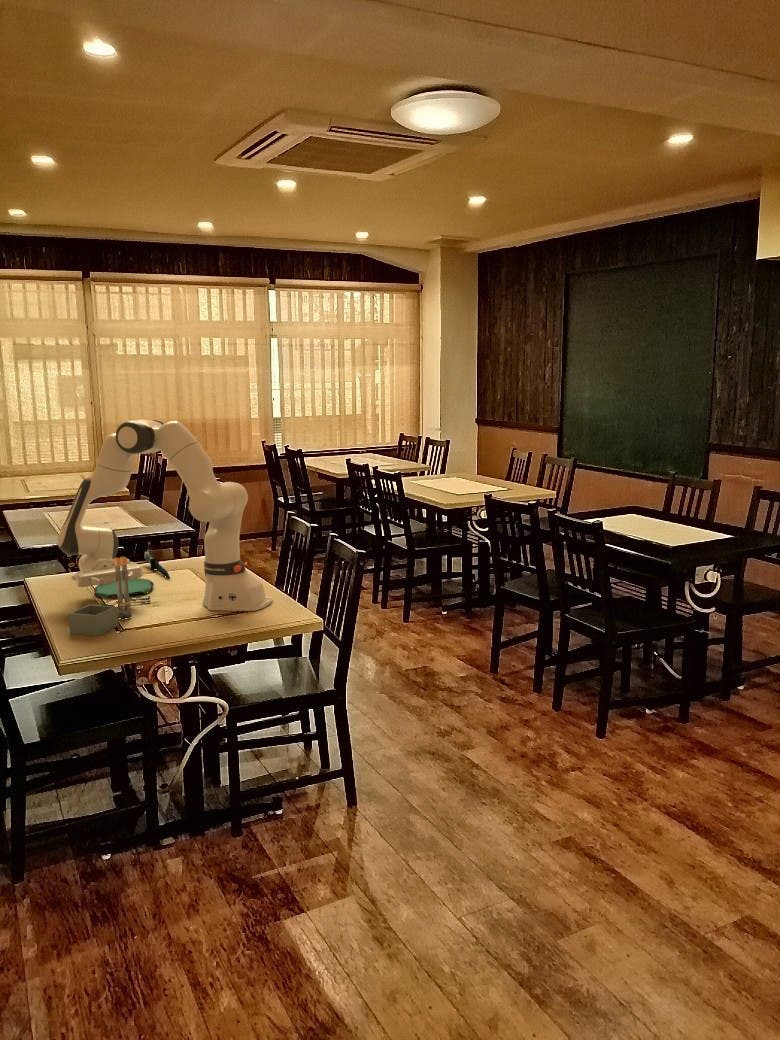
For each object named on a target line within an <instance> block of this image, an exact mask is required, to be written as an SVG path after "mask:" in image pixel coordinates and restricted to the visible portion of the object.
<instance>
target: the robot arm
mask: <svg viewBox="0 0 780 1040" xmlns="http://www.w3.org/2000/svg"><path fill="white" fill-rule="evenodd" d="M159 452H162V453H163V454H164V455H165V457H166V458H167V460H168V462H170V464H171V465H172V467H173V468H174V470H175V471H176V472H177V474H178V476H179V477H180V479H181V480H182V481H183V484H184V486H185V487H186V490H187V493H188V497H189V502H188V509H189V512H190V514H191V516H192V517H193V518H194V519H195V520H196V521H199V522H203V523H208V528H207V531H206V532H205V534H204V539H203V541H204V559H205V560H204V562H203V565H204V566H203V568H204V577H205V589H204V595H203V600H202V605H203V606H204V607H206V608H207V610H209V611H224V612H225V611H230V612H232V611H234V612H238V611H239V612H254V611H259V610H261V609H264V608H266V607H268V606H269V605H270V604H272V603H273V598H272V596H268V595H266V593H265V587H264V585H263V583H262V581H260V580H259V579H257V578H256V577H254V576H253V575H252V574H251V573H250V572H248V571H247V568H246V566H247V565H248V561H245V562H243V560H242V559H241V552H240V550H241V549H240V535H241V534H240V532H241V526H242V520H243V515H244V511H245V507H246V505H247V504H248V501H249V495H248V492H247V489H246V488H245V486H243V485H242V484H240V483H238V482H233V481H225V482H221V483H219V482H218V480H217V478H216V475H215V474H214V470H213V467H214V463H213V460H212V458H210V456H209V455H208V453H207V452H206V450H205V449H204V448H203V446H202V445H201V443H200V442H199V441H198V439H197V438H196V437H195V435H193V433H192V432H191V431H190V430H189V429H188V428H187V427H186V426H185V425H184V424H183V423H182V422H181V421H178V420H170V421H167V422H165V423H164V422H162V421H160V420H155V419H153V420H152V419H151V420H150V419H145V418H144V419H140V418H139V419H136V420H135V419H130V420H127V421H124V422H123V423H121V424H120V425H119V426H118V427H117V429H116V431H115V432H113V433H110V434H108V435H106V436H105V438H104V440H103V442H102V445H101V448H100V451H99V454H98V457H97V462H96V466H95V468H94V471H93V472H92V473H91V474H90V476H88V477H86V478H84V479H83V480H82V481H81V482H80V485H79V486H78V489H77V492H76V493H75V496H74V499H73V501H72V504H71V506H70V509H69V511H68V513H67V517H66V519H65V522H63V525H62V526H61V529H60V531H59V534H58V536H57V546H58V548H59V550H61V552H62V553H64V554H65V555H66V556H78V555H80V557H79V559H78V568H79V570H80V571H76V572H75V575H72V576H71V580H73V581H75V582H76V583H75V585H76V586H77V587H78V588H85V587H94V586H97V585H98V586H99V585H100V586H106V585H109V584H111V583H114V582H116V572H115V565H114V558H117V554H118V550H119V538H118V536H117V534H116V532H115V531H114V530H113V529H112V528H111V527H104V526H92V525H81V524H82V521H83V519H84V516H85V514H86V511H87V509H88V506H89V504H91V502H93V500H96V499H99V498H101V497H102V498H103V497H106V496H110V495H114V494H117V493H119V492H121V491H123V490H124V489H125V488H126V487H127V486H128V485H129V482H130V479H131V476H132V471H133V465H134V463H135V462H134V461H135V458H136V457H137V456H138V455H140V454H142V455H149V454H154V453H159ZM120 572H121V581H123V577H122V564H121V566H120ZM127 576H128V580H133V579H135V578H142V576H143V570H142V566H141V565H139V564H138V563H136V562H133V561H130V559H129V558H127Z"/></svg>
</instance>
